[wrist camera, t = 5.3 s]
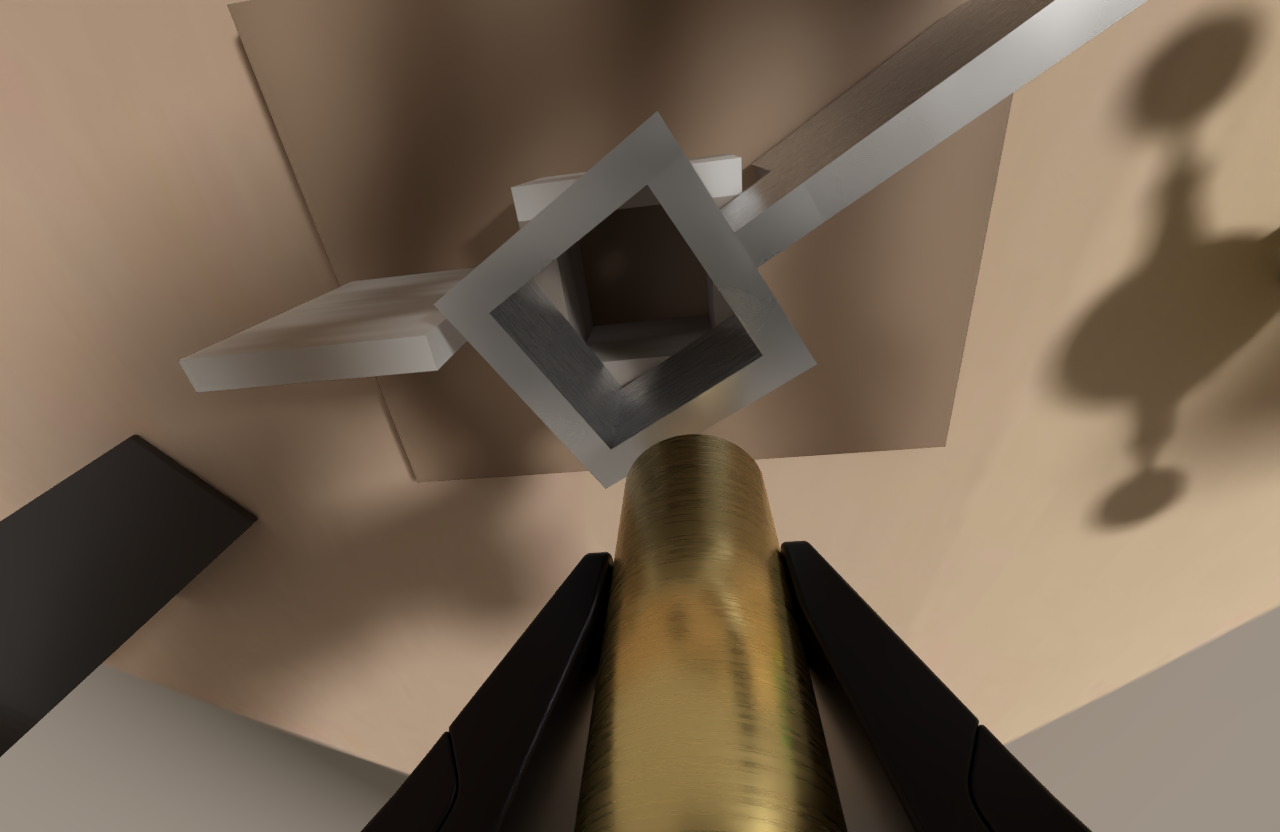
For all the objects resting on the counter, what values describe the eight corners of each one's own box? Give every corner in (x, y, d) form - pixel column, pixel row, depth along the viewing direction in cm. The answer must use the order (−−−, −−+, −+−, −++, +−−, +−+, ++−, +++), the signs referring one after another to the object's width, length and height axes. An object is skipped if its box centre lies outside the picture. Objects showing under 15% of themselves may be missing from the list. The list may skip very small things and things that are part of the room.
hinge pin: (762, 428, 9) (991, 1253, 3) (766, 540, 11) (922, 1280, 4) (614, 440, 10) (462, 1192, 3) (635, 548, 11) (565, 1239, 4)
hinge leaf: (921, -99, 12) (1160, -325, 6) (1003, 122, 14) (1244, 112, 8) (519, 243, 16) (433, 304, 10) (627, 375, 18) (605, 488, 12)
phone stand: (174, 595, 27) (-135, 881, 17) (60, 526, 25) (-373, 802, 15) (261, 517, 24) (-51, 807, 14) (139, 431, 22) (-336, 694, 12)
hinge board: (1031, -127, 13) (1488, -458, 6) (933, 432, 20) (1072, 591, 13) (253, 12, 15) (-125, -99, 8) (427, 468, 22) (315, 621, 15)
